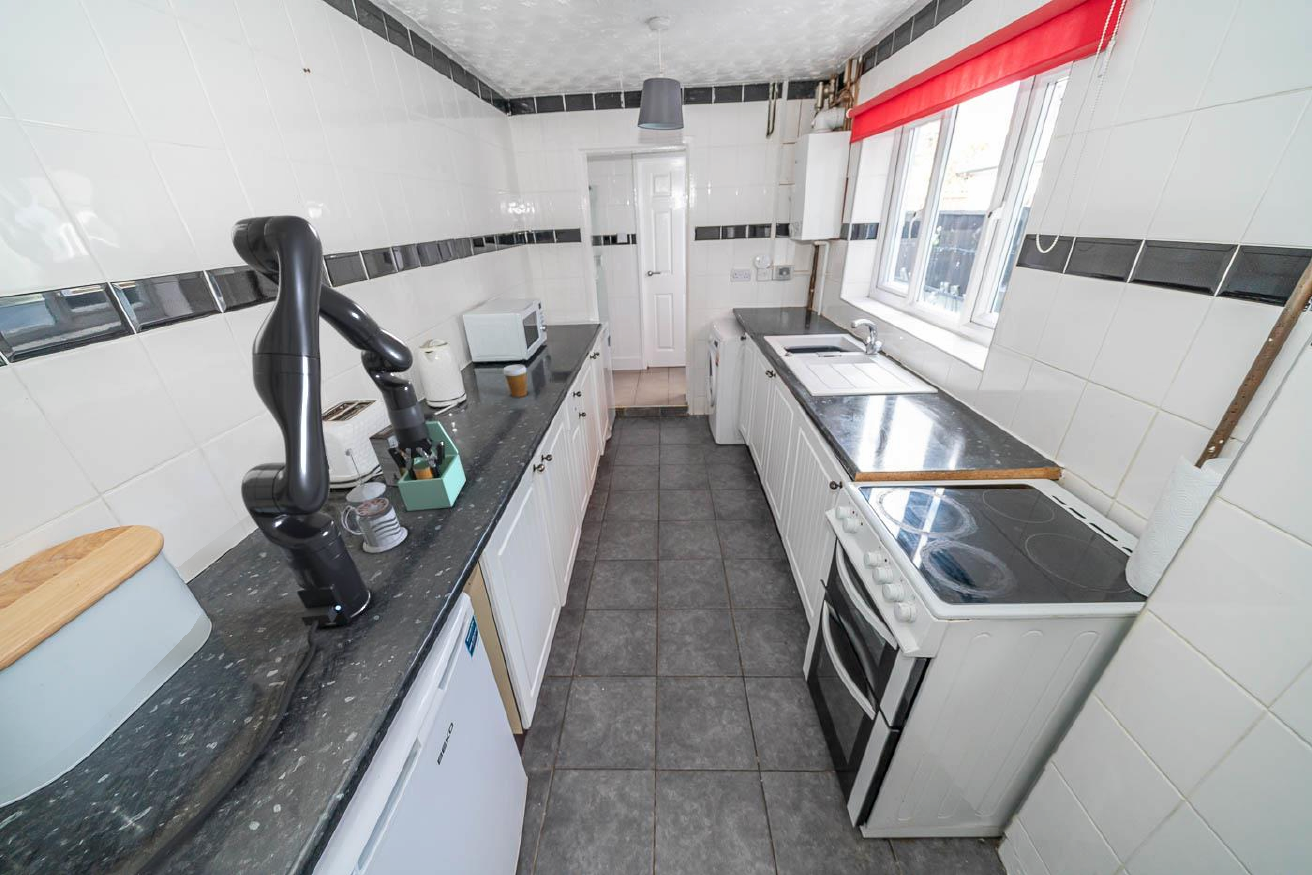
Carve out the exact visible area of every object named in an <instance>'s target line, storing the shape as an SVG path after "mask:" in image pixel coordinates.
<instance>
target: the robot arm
mask: <svg viewBox="0 0 1312 875" xmlns="http://www.w3.org/2000/svg"><path fill="white" fill-rule="evenodd" d="M230 236H231V243H232V245H233V248H234V249H235V251H236V253H237V255H238V256H239V257H240V258H241V260H242V261H243V262H244V263H245V264H246V265H248V266H249V268H251V269H252V270H253V271H255V272H256V273H257V274H259V275H260V276H262V277H263V278H265V279H266V280H268V281H269V282H271V283H272V284H274V285H275V286H277V295H276V297H275V301H274V303H273V305H272V307H271V309H270V311H269V312H268V314H267V316H265V319H264V320H263V322H262V324H261V326H260V327H259V329H258V331H257V333H256V335H255V337H254V340H253V342H252V347H251V365H252V370H251V371H252V384H253V387H254V389H255V391H256V393H257V396H258V397H259V399H260V400H261V402H262V403H263V405H264V407H266V409H267V410H268V412H269V413H270V414H271V416H272V418H273V419H274V421H275V422H276V424H277V425H278V428H279V429H280V431H281V435H282V438H283V445H284V454H285V455H284V456H285V458H284V460H285V461H283V462H281V461H280V462H265V463H260V464H258V465H257V464H256V465H255V466H253V467H252V468H250V469H249V470H248V471H247V472H246V473H245V475H244V476H243V479H242V481H241V486H240V493H241V494H240V495H241V498H242V502H243V505H244V507H245V509H246V511H247V513H248V514H249V516H250V517H251V519H252V520H253V522H254V523H255V525H256V526H257V528H258V529H259V531H260V532H261V534H262V535H263V537H264V538H265V540H266V541H267V542H268V543H269V544H271V545H272V546H273V547H275V548H277V550H278V551H279V553H280V554H281V556H282V558H283V560H284V562H285V563H286V565H287V567H288V569H289V571H290V572H291V574H292V576H293V578H294V579H295V581H296V583H297V586H298V587H299V588H298V589H297V590H296V594H297V595H298V597H299V599H300V601H301V603H302V604H303V606H304V608H305V609H306V610H305V611H304V612H303V614H301V616H300V619H301V620H302V622H303V624H304V626H305V627H308V626H310V627H309V630H308V634H307V643H308V645H309V646H308V647H309V648H308V652H307V656H306V657H305V660H304V661H303V663H302V665H301V666H300V667H299V669H298V670H297V671H296V672H295V674H294V675H293V677H292V679H291V680H290V683H288V685H287V689H286V691H285V693H284V696H283V698H282V701H281V704H280V705H279V708H278V711H277V713H276V715H275V717H274V719H273V721H272V723H271V725H270V726H269V728H268V729H267V731H266V733H265V734H264V735H263V737H262V739H261V740H260V742H259V743H258V744H257V746H256V747H255V749H254V750H253V751H252V753H251V754H250V755H249V756H248V758H247V759H246V760H245V761H244V762H243V764H242V765H241V766H240V768H238V770H237V771H236V772H235V773H234V775H233V776H232V777H231V778H230V779H229V780H228V781H227V783H226V784H225V785H224V786H223V787H222V788H221V789H220V790H219V792H217V794H215V795H214V797H213V798H212V799H211V800H209V802H208V803H207V804H206V805H204V807H203V808H201V810H200V811H199V812H198V813H197V814H195V815H194V816H193V817H192V818H191V819H190V820H189V822H187V823H186V824H185V825H184V826H183V827H182V828H181V829H180V830H179V831H177V833H176V834H175V835H174V836H173V837H172V838H171V839H170V840H169V841H167V843H166V844H164V845H163V847H161V848H160V850H158V851H157V852H156V853H155V854H154V855H153V856H152V857H151V858H150V859H149V860H148V861H147V862H145V863H144V865H143V866H141V867H140V868H139V869H138V870H137V871H136V872H135V873H133V875H138V874H139V875H146V874H148V872H149V871H150V870H151V869H153V867H154V866H155V865H156V864H157V863H158V862H160V861H161V860H162V859H163V858H164V857H165V856H166V855H167V854H168V853H169V852H171V850H172V849H173V848H174V847H175V846H176V845H177V844H179V842H180V841H182V839H183V838H184V837H185V836H186V835H187V834H188V833H189V832H190V831H191V830H192V829H193V828H194V827H195V826H196V825H197V824H198V823H200V821H201V820H202V819H203V818H204V817H206V816H207V814H209V812H211V811H212V810H213V809H214V808H215V806H217V804H219V802H220V801H221V800H222V799H223V798H224V797H225V796H226V795H227V794H228V793H229V791H231V789H233V787H234V786H235V785H236V784H237V783H238V782H239V780H240V779H241V778H242V777H243V776H244V775H245V773H246V772H247V771H248V769H249V768H250V767H251V766H252V764H253V763H254V762H255V761H256V760H257V759H258V757H259V756H260V754H261V753H262V751H264V749H265V748H266V747H267V744H268V743H269V741H270V740H271V738H272V737H273V735H274V733H275V732H276V730H277V728H278V727H279V726H280V723H281V721H282V719H283V717H284V715H285V713H286V711H287V709H288V707H289V703H290V700H291V698H292V695H293V692H294V690H295V687H296V685H297V683H298V682H299V679H300V678H301V677H302V675H303V674H304V672H305V671H306V669H307V667H308V666H309V664H310V662H311V660H312V659H313V656H314V655H315V653H316V648H317V642H316V641H315V635H316V634H315V633H316V630H317V628H324V627H336V626H344V625H345V626H346V625H349V624H350V623H351V621H352V620H353V619H355V618H357V617H358V616H359V615H361V614H362V613H363V612H364V611H365V610H366V609H367V608H368V606H369V605H370V604H371V600H372V595H371V592H370V590H368V588H367V585H366V583H365V581H364V578H363V577H362V575H361V572H360V570H359V568H358V565H357V563H356V562H355V558H354V557H353V555H352V553H351V551H350V548H349V547H348V544H347V542H346V539H345V537H344V536H343V533H342V531H341V529H340V526H339V525H338V522H337V520H336V519H335V517H333V516H332V515H330V514H327V513H325V512H321V510H322V509H323V508H324V507H325V505H326V504H327V502H328V500H329V495H330V490H331V477H330V476H331V475H330V467H329V462H328V454H327V448H326V442H325V434H324V423H323V407H322V406H323V405H322V363H321V362H322V361H321V360H322V359H321V347H320V318H321V319H322V320H324V321H325V322H326V323H327V324H328V325H329V326H330V327H332V329H333V330H335V332H336V333H338V334H339V335H340V337H342V339H344V340H345V342H347V343H348V344H349V345H350V346H351V347H352V348H354V349H357V350H359V351H360V360H361V361H360V362H361V365H362V366H363V368H364V370H365V372H366V373H367V375H368V376H369V378H370V379H371V380H372V382H373V384H374V385H375V386H376V387H377V389H378V390H379V392H380V393H381V395H382V399H383V402H384V404H385V407H386V410H387V416H388V419H389V422H390V425H392V428H393V431H394V434H395V436H396V439H397V441H398V445H392V446H391V447H390V448H389V449H388V452H389V454H390V455H391V457H392V458H393V460H394V461H395V463H396V464H397V466H398V467H399V468H402V467H403V468H406V469H407V470H408V473H409V476H410V478H411V479H413V480H417V477H416V474H415V472H414V470H413V469H412V467H413V465H414V459H415V458H417V457H420V458H424V460H425V461H427V462H428V463H429V464H430V465H431V470H432V473H433V476H434V479H435V478H439V477H440V475H441V470H440V467H439V465H441V464H442V463H443V461H444V460H445V442H444V441H440V442H434V441H433V440H432V439H431V438H430V436H429V431H428V428H427V425H426V422H427V420H425V418H424V414H423V413H424V411H423V409H422V407H421V405H420V403H419V400H418V397H417V394H416V391H415V388H414V387H415V386H414V384H413V382H412V381H410V380H408V379H405V378H401V377H398V376H396V375H395V373H397V374H398V373H404V372H407V371H408V370H409V369H411V367H412V366H413V362H414V358H413V353H412V351H411V349H410V348H409V346H408V345H407V344H406V343H405V342H404V341H403V340H401V339H400V338H399V337H397V336H395V335H394V334H393V333H391V332H390V331H388V330H386V329H385V328H384V327H382V326H380V325H379V324H378V323H377V321H375V320H374V319H373V317H372V316H371V315H370V314H369V313H368V312H367V311H366V310H365V309H364V308H363V307H362V306H361V305H359V304H358V303H357V302H356V301H354V300H353V299H352V298H350V297H348V296H346V295H345V294H343V293H341V292H340V291H337V289H334V288H332V287H331V286H329V285H327V284H325V283H323V273H324V272H323V271H324V252H323V245H322V240H321V238H320V235H319V233H318V232H317V230H316V228H315V227H314V226H313V225H312V223H311V222H309V221H308V220H307V219H306V218H303V217H301V216H298V215H291V214H290V215H289V214H288V215H285V214H284V215H268V216H267V215H266V216H253V217H248V218H243V219H239V220H238V221H236V222H235V223H234V225H233V226H232V228H231V234H230ZM432 446H433V447H434V448H435V450H436V451H437V458H436V456H435V453H434V452H433V451H432V449H431V448H432ZM400 450H401V451H402V452H404V453H405V454H406V460H405V458H404V457H403V455H402V454H401V452H400Z"/></svg>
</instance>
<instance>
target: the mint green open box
mask: <svg viewBox="0 0 1312 875" xmlns="http://www.w3.org/2000/svg"><path fill="white" fill-rule="evenodd" d="M436 458H437V456H436ZM421 461H425V460H424V458H417V459H416V460H415V461H414V465H415V464H416V463H418V462H421ZM439 467H440V470H441V475H440V477H439V478H435V479H424V480H413V479H411V478H410V476H409V473H408V470H407V471H406V473H405V474H404V475H403V477H402V478H401V479H400V480H399V482H398V483H397V484H398V486H397V487H398V489H399V493H400V495H401V498H402V500H403V503H404V506H405V509H406V511H407V512H410V511H411V512H413V511H420V510H422V511H423V510H432V509H442V508H443V509H444V508H452V506H454V503H455V501H456V500H457V497H458V496H459V494H460V492H461V491H462V489H463V487H464V485H465V483H466V481H467V479H466V475H465V471H464V469H463V464H462V460H461V457H460V454H459V453H458V454H450V455H445V460H444V461H443V463H442V464H441V465H439Z"/></svg>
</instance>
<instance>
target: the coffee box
mask: <svg viewBox="0 0 1312 875" xmlns="http://www.w3.org/2000/svg"><path fill="white" fill-rule="evenodd" d="M368 440H369V441H370V444H371V446H372V449H373V451H374V454H375V456H376V460H377V462H378V464H379V467H380V470H381V472H382V474H383V477H384V480H385V482H386V486H391V487H398V484H397V483H398V482H399V480H400V479H401V478H402V477H403V475H404V474H405V473H406V471H407V469H406V468H403V467H402V468H399V467H398V466H397V464H396V463H395V461H394V460H393V458H392V457H391V455H390V454H389V452H388V449H389V448H390V447H391V446H392V445H398V441H397V439H396V436H395V434H394V431H393V428H392V425H391V424H389V425H387V426H386V427H384V428H382V429H380V430H378V431H377V432H376V433H374V434H373V435H371V436H369V437H368ZM400 452H401V454H402V455H403V457H404V458H405V460H406V454H405V453H404V452H402V451H401V450H400ZM417 458H420V457H417ZM417 458H415V459H414V461H415V460H416V459H417Z"/></svg>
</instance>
